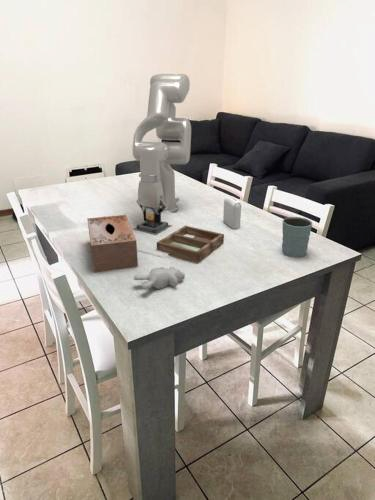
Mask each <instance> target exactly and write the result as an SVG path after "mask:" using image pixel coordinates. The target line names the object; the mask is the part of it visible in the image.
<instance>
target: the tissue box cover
mask: <svg viewBox="0 0 375 500" xmlns="http://www.w3.org/2000/svg"><path fill="white" fill-rule="evenodd" d="M127 217H128V216H127V215H126V214H121V215H110V216H109V215H108V216H98V217H91V218H90V217H89V218H87V226H88V235H89V242H90V250H91V256H92V264H93V271H94V274H95V273H101V272H103V273H104V272H110V271H115V270H116V271H117V270H123V269H132V268H138V267H139V260H138V245H137V239H136V236H135V234H134V232H133V228H132V226H131V224H130V222H129V220H128V218H127Z"/></svg>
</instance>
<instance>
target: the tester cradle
mask: <svg viewBox="0 0 375 500" xmlns="http://www.w3.org/2000/svg"><path fill="white" fill-rule="evenodd" d="M158 224H159V226H158V227H156V228H151V227H147V225H146V221H143V222H141V223H139V224H137V225H136V227H134V228H132V231H133V230H134V231H137V232H142V233H145V234H149V235H154V236H157V235H159V234H160V233H162V232H164V231H166V230H167V229H169V228H171V227H172V226H173V225H172V224H169V222H166V221H162V220H161V222H159V223H158Z"/></svg>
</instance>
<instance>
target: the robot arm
mask: <svg viewBox="0 0 375 500" xmlns="http://www.w3.org/2000/svg"><path fill="white" fill-rule="evenodd" d="M149 86H150V87H149V94H148V95H149V96H148V103H147V112H146V113H147V114H146V117H145V118H144V119H143V120H142V121H141V122H140V123H139V125H138V126H137V127H136V129H135V132H134V134H133V139H132V140H133V141H132V155H133V158H134V159H135V160H136V161H138V162H139V166H140V167H139V169H140V171H139V172H140V173H139V174H138V177H139V178H140V180H139V181H138V187H137V188H138V189H137V199H136V204H138V206H139V208H140V209H141V212H142V215H143V216H142V217H143V222H145V221H146V207H151V208H154V209H155V212H156V214H155V223H156V224H157V223H159V222H161V221H162V213H176V212H178V211H179V206H178V205H177V203H178V202H179V201H180V198H179V197H176V179H175V178H176V174H175V171H174V169H173V168H172V166H171V165H186V164H188V163H189V161H190V158H191V142H192V141H191V140H192V125H191V124H192V123H191V122H190V120H189V119H188V118H184V117H176V111H177V108H176V105H175V104H182V103H183V102H184V101H185V99H186V97H188V94H189V91H190V86H191V85H190V78H189V76H188V75H187V74H186V73H158V74H153V75H152V76H151V77H150V82H149ZM154 129H155V135H156V137H157V138H158V139H159V140H164V141H159V142H158V141H143V139H144V137H145V136H146V134H147V133H149V132H151V131H152V130H154ZM165 140H166V141H165ZM170 141H173V142H170ZM174 141H180V142H174Z"/></svg>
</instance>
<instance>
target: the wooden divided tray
mask: <svg viewBox="0 0 375 500" xmlns="http://www.w3.org/2000/svg"><path fill="white" fill-rule="evenodd" d="M186 235H190V236H193V237H189V236H186ZM224 239H225V233H220V232H216V231H211V230H208V229H207V230H206V229H202V228H198V227H193V226H190V225H183V226H182V227H180V228H179V229H177V230H176V231H174V232H172V233H169V235H167V236H165V237H163V238H162V239H160V240H159V241H157V242H156V251H161V252H163V253H167V256H171V257H174V258H178V259H180V260H181V259H182V260H185V261H188V262H192V263H195V264H199V263H201V262H202V261H203V260H205V259H206V258H207V257H208V256H209V255H211V254H212V253H213V252H215V251H216V250H217V249H218V248H220V247H221V246H222V245H223V244H224Z"/></svg>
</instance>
